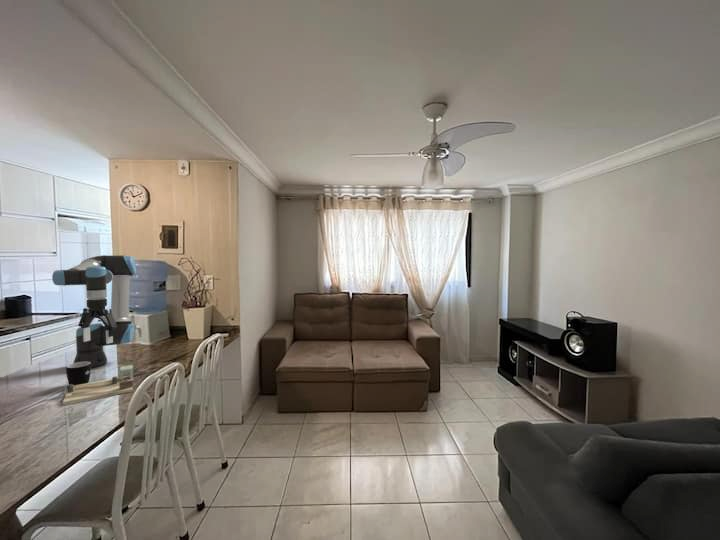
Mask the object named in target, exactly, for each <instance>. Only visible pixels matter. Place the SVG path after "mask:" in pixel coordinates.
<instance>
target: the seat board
mask: <svg viewBox="0 0 720 540" xmlns="http://www.w3.org/2000/svg"><path fill="white" fill-rule="evenodd" d="M66 385H67V386H66V387H67V388H66V389H67V392H66V394H65V396H64V399H63V401H62V406H68V405H72V404H76V403H77V404H78V403H83V402H86V401H88V402H89V401H92V400H97V399H103V398H107V397H108V398H109V397H113V396H117V395H123V394H128V393H133V392H134V378H133V379H130V375H126V376H124V380H122V381H120V377H118V376H113V377H112V378H109V379H105V380H104V379H103V380H98V381H92V382H88V383H86V384H80V385H74V386H73V384H70V385H69V384H66Z"/></svg>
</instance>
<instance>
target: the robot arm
mask: <svg viewBox="0 0 720 540" xmlns="http://www.w3.org/2000/svg"><path fill="white" fill-rule="evenodd" d="M135 261H136V260H135V258H134V257H133V256H131V255H125V254H124V255H95V256H92V257H89V258H86V259H83V260H82V261H81V262H80V263H79V264H77V265H75V266H72V267H71V268H68V269H59V270H58V269H56V270H54V271H53V273H52V276H51V278H52V283H53V284H54V286H64V287H66V286H85V288H86V291H85V292H86V307H85V308H83V309H82V315H81V317H80V319H79V322H78V328H77V329H76V331H75V333H76V334H75V343H76V344H75V345H76V354H75V357H74V359H73V362H72V364H73V363H77V362H91V369H93V368H97V367H101V366H104V365H106V364H107V363H108V357H107V355H106V353H105V351H104V346H116V345H117V346H118V345H125V344H126V345H127V344H130V343H131V342H132V341H133V339H134V335H135V330H136V329H135V326H136V325H135V323H132V320H131V319H130V318H129V314H130V281H131V279H132V278H133V276H134V275H136V274H137V268H136V262H135ZM109 283H111V299H110V300H111V301H110V302H111V303H110V308H106V307H107V306H108V299H107V297H108V294H107V293H108V291H107V284H109ZM94 319H98V320H100V321H101V323H99V322H97V323H92V322H93V321H94Z"/></svg>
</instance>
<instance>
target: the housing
mask: <svg viewBox="0 0 720 540" xmlns="http://www.w3.org/2000/svg"><path fill="white" fill-rule="evenodd" d="M128 372H129V376H130V379H133V380H134V367H133V364H130V365H124V366H120V369H119V378H120V381H122V380H124V377H125V373H128Z"/></svg>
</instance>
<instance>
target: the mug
mask: <svg viewBox="0 0 720 540" xmlns="http://www.w3.org/2000/svg"><path fill="white" fill-rule="evenodd" d="M65 371H66V377H67V382H68V385H70V384H73V386H74V385H80V384H86V383H90V382H89V381H90V379H91V372H92V368H91V362H77V363H73V362H72V363H70V364H68V365H66V368H65Z"/></svg>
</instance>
